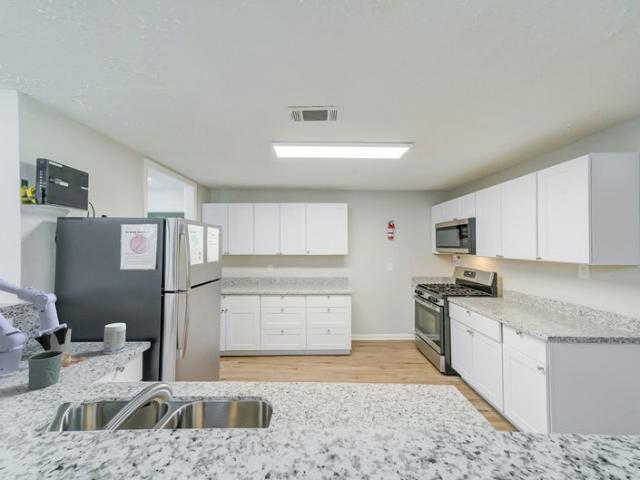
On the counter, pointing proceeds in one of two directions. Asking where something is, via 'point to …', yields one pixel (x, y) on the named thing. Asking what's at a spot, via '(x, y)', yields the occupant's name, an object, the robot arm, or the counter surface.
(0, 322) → the robot arm
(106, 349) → the supplement tub
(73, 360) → the board
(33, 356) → the green plant pot
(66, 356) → the birch block
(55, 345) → the grey marbled cylinder
